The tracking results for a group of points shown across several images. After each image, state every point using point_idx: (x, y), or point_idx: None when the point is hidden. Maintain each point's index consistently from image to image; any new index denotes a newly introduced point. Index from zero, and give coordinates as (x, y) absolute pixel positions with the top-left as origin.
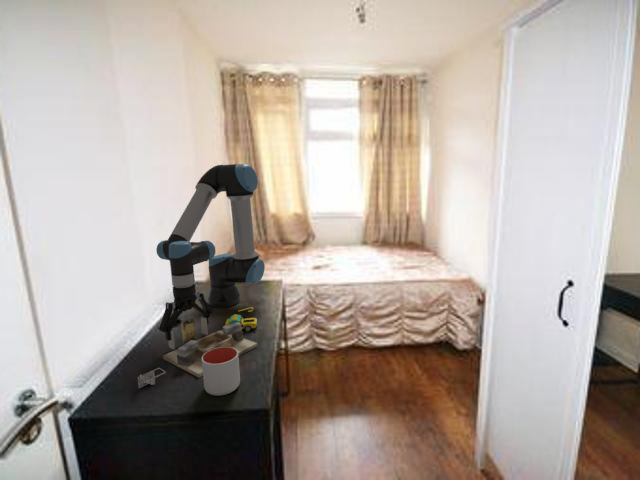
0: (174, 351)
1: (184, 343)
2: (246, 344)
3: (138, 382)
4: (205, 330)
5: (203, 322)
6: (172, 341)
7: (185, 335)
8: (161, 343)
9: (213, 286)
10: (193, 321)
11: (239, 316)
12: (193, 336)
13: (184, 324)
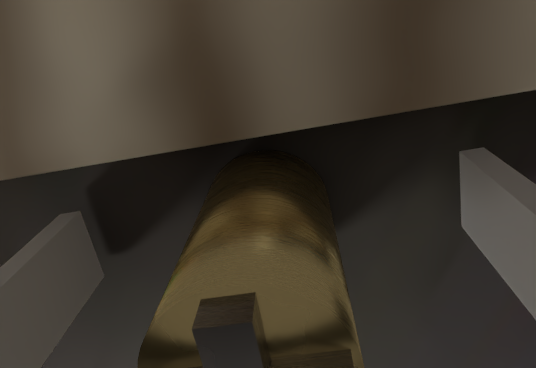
0: (523, 64)
1: (328, 199)
2: None
3: None
4: (59, 242)
5: (13, 328)
6: (529, 181)
7: (324, 223)
8: (450, 364)
9: None
10: (152, 339)
11: None
12: (233, 184)
13: (337, 332)
